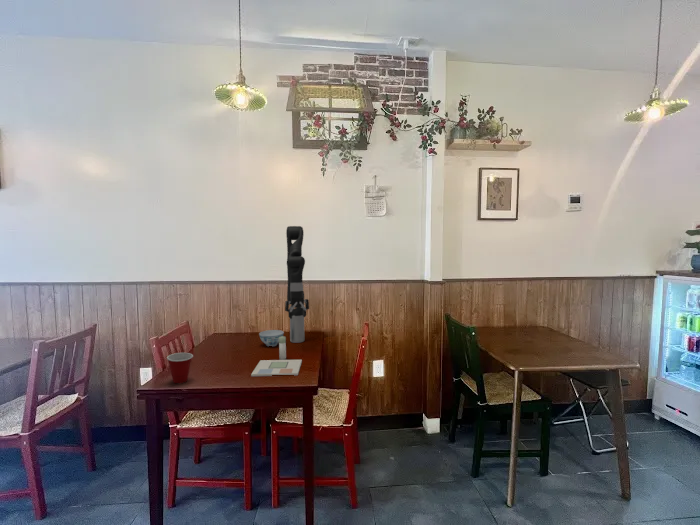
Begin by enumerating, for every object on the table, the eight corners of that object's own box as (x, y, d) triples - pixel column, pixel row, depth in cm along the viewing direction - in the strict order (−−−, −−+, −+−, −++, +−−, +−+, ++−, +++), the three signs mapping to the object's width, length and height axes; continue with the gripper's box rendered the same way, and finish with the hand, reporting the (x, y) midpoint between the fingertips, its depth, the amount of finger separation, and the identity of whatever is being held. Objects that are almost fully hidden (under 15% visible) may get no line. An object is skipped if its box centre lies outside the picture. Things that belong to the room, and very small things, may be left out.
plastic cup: (183, 386, 153) (182, 360, 152) (162, 385, 155) (161, 358, 154) (198, 377, 163) (198, 352, 163) (178, 376, 165) (177, 351, 165)
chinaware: (281, 348, 208) (280, 335, 208) (256, 348, 209) (256, 336, 208) (286, 341, 223) (286, 329, 223) (263, 341, 224) (262, 329, 223)
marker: (279, 357, 191) (279, 336, 191) (286, 357, 191) (286, 336, 191) (278, 359, 188) (278, 338, 187) (285, 359, 188) (285, 337, 187)
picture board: (260, 362, 184) (260, 360, 184) (302, 361, 185) (301, 359, 185) (251, 376, 164) (251, 374, 164) (297, 375, 165) (297, 373, 165)
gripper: (305, 289, 211) (305, 315, 211) (282, 290, 203) (283, 318, 203) (310, 289, 205) (311, 317, 204) (287, 291, 197) (288, 319, 197)
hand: (297, 317), depth 204 cm, fingers open, 8 cm apart
